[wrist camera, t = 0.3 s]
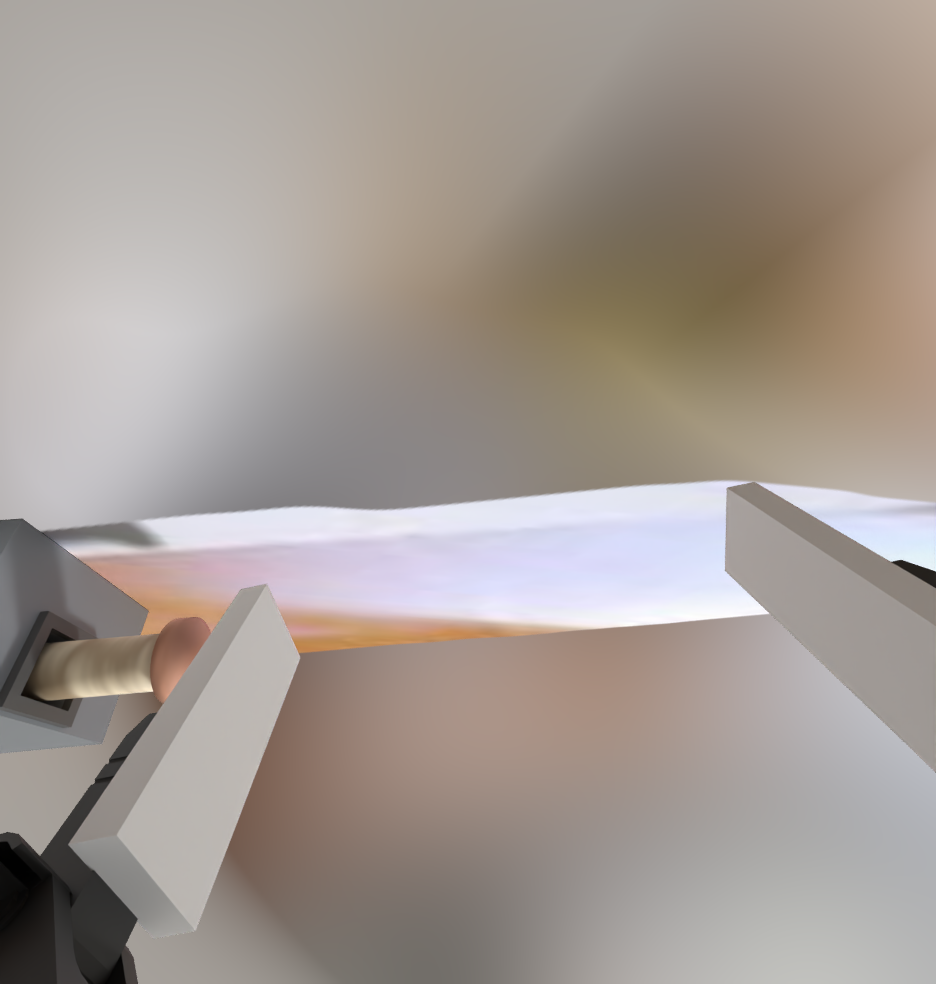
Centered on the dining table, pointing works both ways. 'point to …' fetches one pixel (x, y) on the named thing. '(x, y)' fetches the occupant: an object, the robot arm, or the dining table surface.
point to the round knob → (117, 663)
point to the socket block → (52, 637)
